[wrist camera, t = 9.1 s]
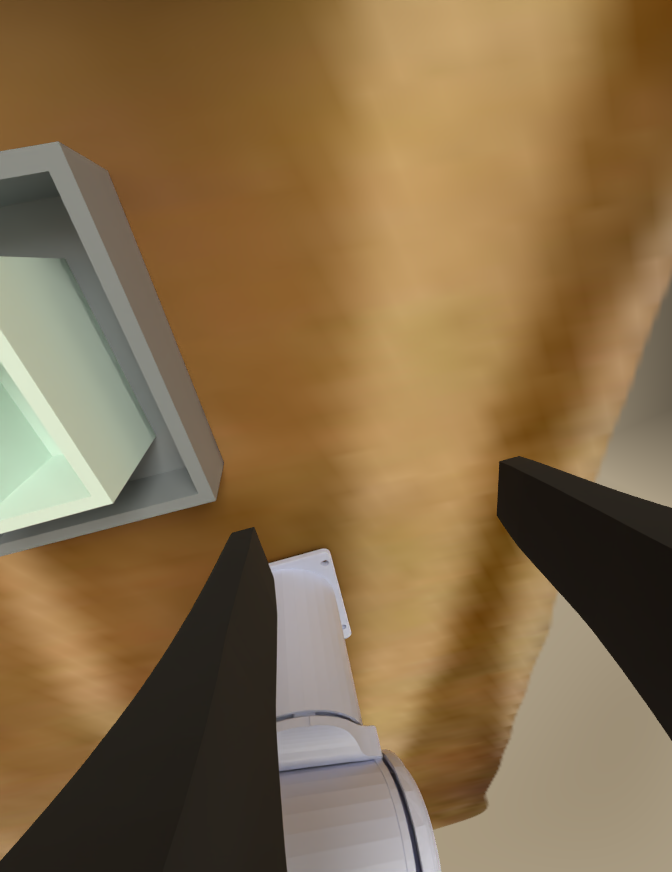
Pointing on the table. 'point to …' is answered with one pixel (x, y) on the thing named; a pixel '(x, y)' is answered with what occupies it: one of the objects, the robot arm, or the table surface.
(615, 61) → the table surface
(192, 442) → the large crate
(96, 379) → the small crate
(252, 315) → the table surface
